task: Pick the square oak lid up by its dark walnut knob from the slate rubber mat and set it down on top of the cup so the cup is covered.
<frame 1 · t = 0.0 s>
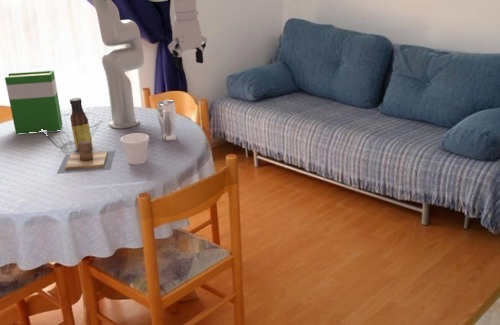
hand: (189, 65, 206), 31 cm above the table, tool pointing down, fingers open, 9 cm apart
beer glass: (169, 139, 227), on the table
sauce bottle: (84, 150, 219), on the table
cup: (137, 162, 206), on the table
slate mat: (87, 162, 206), on the table
hardback book: (39, 130, 243), on the table
oak lid: (87, 161, 206), resting on slate mat
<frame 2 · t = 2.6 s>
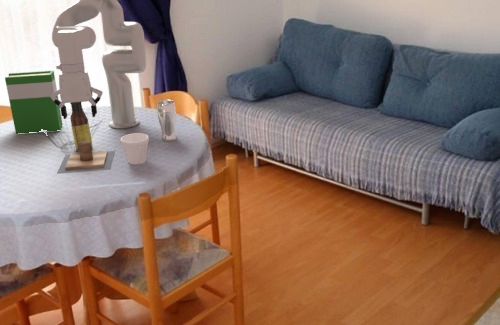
hand: (79, 116, 199), 17 cm above the table, tool pointing down, fingers open, 9 cm apart
nothing on the table moved.
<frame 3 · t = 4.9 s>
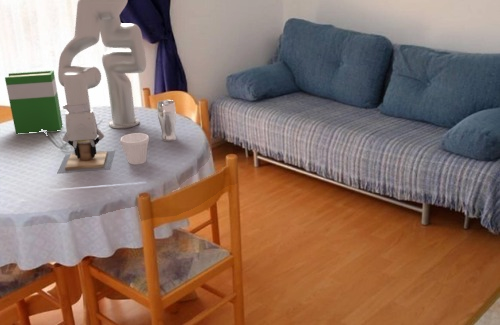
hand: (86, 156, 205), 3 cm above the table, tool pointing down, fingers closed on oak lid, 4 cm apart
oak lid: (87, 161, 206), resting on slate mat, touching gripper
everything else where it was.
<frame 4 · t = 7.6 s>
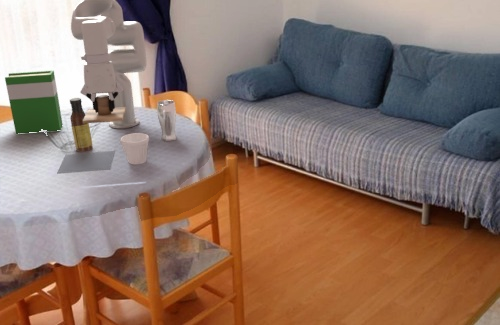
hand: (104, 110, 199), 19 cm above the table, tool pointing down, fingers closed on oak lid, 4 cm apart
oak lid: (105, 116, 199), point 17 cm above the table, touching gripper
everything else where it was.
when the fingers open (12 cm above the table, at t = 10.2 s): oak lid drops 1 cm, resting on cup.
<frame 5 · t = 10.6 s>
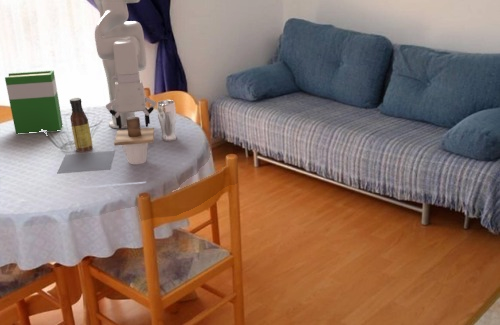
hand: (133, 126, 200), 13 cm above the table, tool pointing down, fingers open, 8 cm apart
cup: (137, 162, 206), on the table, touching oak lid
oak lid: (135, 137, 202), point 9 cm above the table, touching cup
everything else where it was.
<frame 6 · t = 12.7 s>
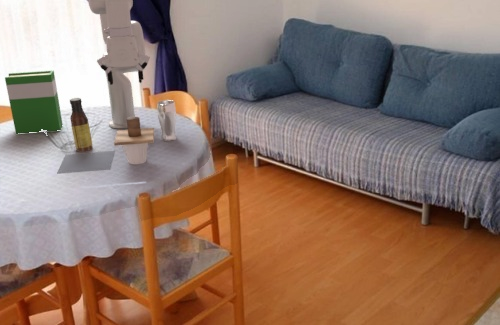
hand: (126, 82, 197), 28 cm above the table, tool pointing down, fingers open, 9 cm apart
nothing on the table moved.
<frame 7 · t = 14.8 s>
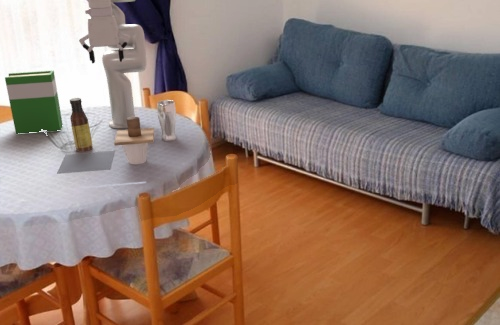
hand: (107, 61, 206), 33 cm above the table, tool pointing down, fingers open, 9 cm apart
nothing on the table moved.
at the end: oak lid 0.2 cm off-centre on the cup, point 9.5 cm above the cup's base; the gripper is holding nothing; cup tilted 0° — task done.
